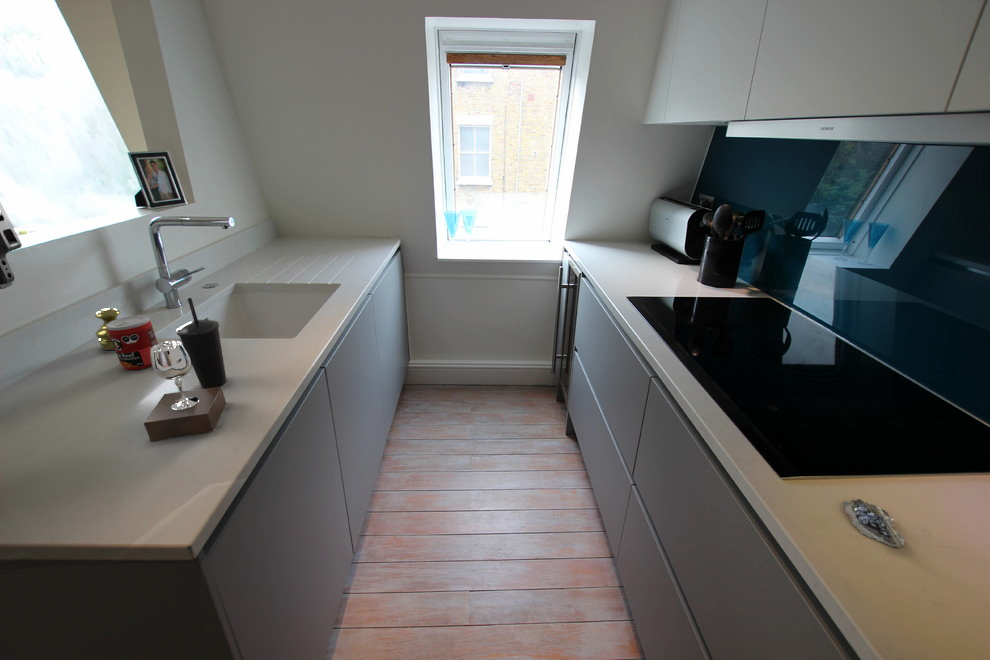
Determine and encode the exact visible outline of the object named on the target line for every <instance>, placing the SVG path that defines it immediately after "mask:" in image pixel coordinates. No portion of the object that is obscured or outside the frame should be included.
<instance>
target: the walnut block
mask: <svg viewBox="0 0 990 660" xmlns="http://www.w3.org/2000/svg"><path fill="white" fill-rule="evenodd" d="M183 394H184V396H185V397H197V398H198V399H199V402H198V403H197V404H196V405H194V406H192V407H190V408H187V409H184V410H173V409H172V408H171V405H172V404H173V403H174V402H176V401H177V400H180V399H181V394H180V391H176V392H175V391H174V392H169V393H164V394H163V395H162V397H161V398H160V399H159V401H158V402H157V404H156V405H155V407H154V408H153V409H152V410H151V412H150V413H149V414H148V416H147V417H146V419H145V420H144V421H143V426H144V428H145V430H146V433H147V436H148V439H149V441H150V442H154V441H161V440H162V441H163V440H168V439H174V438H181V437H186V436H193V435H199V434H207V433H213V432H214V430H215V429H216V426H217V424H218V422H219V421H220V417H221V415H222V413H223V411H224V409H225V407H226V404H227V401H226V398H225V394H224V390H223V387H222V386H220V387H213V388H206V389H204V388H200V389H192V390H183Z"/></svg>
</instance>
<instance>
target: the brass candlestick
mask: <svg viewBox="0 0 990 660" xmlns="http://www.w3.org/2000/svg"><path fill="white" fill-rule="evenodd" d="M120 314H121V310H120V309H118V308H117V309H116V308H111V307H105V308H102V309H101V310H99V311H97V312H96V313H95V314H94V317H95V318H96V319H99V320H101V321H102V322H103V323H102V325H101V326H100V327H99V328H98V329H97V330H96V331H95V336H96V338H98V344H99V345H100V349H101V350H105V351H113V350H114V351H115V348H114V345H113V343H112V340H111V338H110V335H109V333H108V330H107V324H108V323H110V322H111V321H114V320H116V319H118V316H119V315H120Z"/></svg>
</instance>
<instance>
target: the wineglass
mask: <svg viewBox="0 0 990 660" xmlns="http://www.w3.org/2000/svg"><path fill="white" fill-rule="evenodd" d="M150 357H151V365H152V366H151V369H152V371H153V372H154V374H155V375H156V376H157V377H158V378H159V379H162V380H167V381H168V380H169V381H171V380H172V381H173V380H174V384H175V386H176V387H177V389H178V390H179V391H178V392H180V394H181V399H180V400H177V401H176V402H174V403H173V404H172V405H171V408H172V409H173V410H184V409H187V408H190V407H192V406H194V405H196V404H197V403H198V402H199V399H198V398H197V397H185V396H184V394H183V391H184V390H183V381H182V380H181V378H183V377H184V376H186V375H187V374H188V373H189V372H190V371H191V369H192V364H191V359H190V356H189V354H188V352H187V350H186V348H185V347H184V345H183V343H182V341H181V340H180V341H179V340H168V341H163V342H160V343H158V344H157V345H155V346H153V347H152V348H151V349H150Z"/></svg>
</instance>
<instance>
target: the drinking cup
mask: <svg viewBox="0 0 990 660" xmlns="http://www.w3.org/2000/svg"><path fill="white" fill-rule="evenodd" d="M187 303H188V305H189V308H190V312H191V316H192V319H193V320H191V321H188V322H187V323H185V324H182V325H181V326H179V327H178V328H176V331H175V333H176V335H177V336H178V337H179V338H180V342H181V343H182V344H183V345H184V347H185V348H186V350H187V352H188V354H189V356H190V359H191V367H192V368H193V370H194V373H195V375H196V378H197V379H198V382H199V384H200V386H201V389H206V388H213V387H222V386H223V385H225V384H226V383H227V375H226V368H225V362H224V355H223V348H222V343H221V336H220V330H219V328H220V323H219V322H218V321H217V320H214V319H213V320H212V319H198V316H197V312H196V309H195V306H194V302H193V298H192V297H188V298H187Z"/></svg>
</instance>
